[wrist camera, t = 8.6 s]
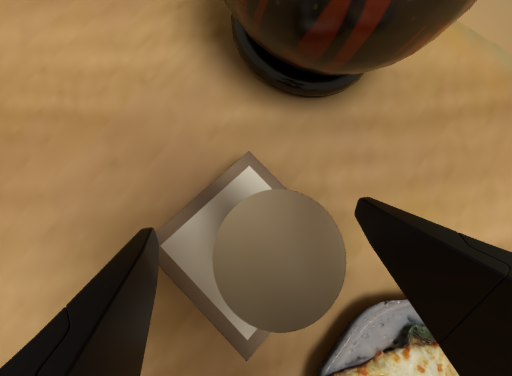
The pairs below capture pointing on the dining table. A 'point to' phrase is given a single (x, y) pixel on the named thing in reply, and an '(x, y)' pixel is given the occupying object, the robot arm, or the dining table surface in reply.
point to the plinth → (201, 247)
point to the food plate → (387, 345)
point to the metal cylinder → (279, 260)
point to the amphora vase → (334, 37)
